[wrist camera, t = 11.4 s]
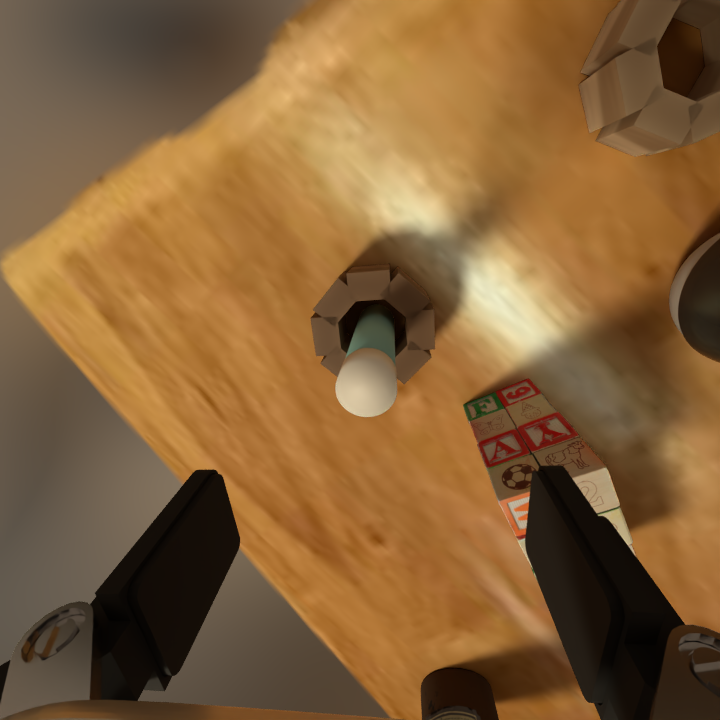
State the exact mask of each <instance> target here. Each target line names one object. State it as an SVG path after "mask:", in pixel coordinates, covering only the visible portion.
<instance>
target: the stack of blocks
mask: <svg viewBox="0 0 720 720" xmlns="http://www.w3.org/2000/svg"><path fill="white" fill-rule="evenodd" d="M463 407H464V410H465V413H466V416H467V419H468V422H469V424H470V426H471V428H472V430H473V433H474V435H475V437H476V440H477V442H478V444H477V446H478V449H479V451H480V454H481V456H482V459H483V462H484V464H485V467H486V469H487V472H488V474H489V477H490V480H491V483H492V486H493V489H494V492H495V494H496V497H497V500H498V502H499V504H500V506H501V508H502V510H503V512H504V514H505V516H506V518H507V520H508V522H509V524H510V526H511V528H512V530H513V532H514V534H515V537H516V539H517V541H518V543H519V545H520V547H521V549H522V550H523V552H524V554H525V556H526V558H527V560H528V561H529V558H528V555H527V552H526V547H525V536H526V526H527V517H528V507H529V497H530V488H531V478H532V472H533V471H538V468H539V467H540V466H549V465H562V466H563V467H564V468H565V469H566V470H567V472H568V473H569V474H570V476H571V477H572V479H573V480H574V482H575V483H576V485H577V486H578V487H579V489H580V490H581V492H582V493H583V495H584V496H585V497H586V499H587V500H588V502H589V503H590V505H591V506H592V508H593V509H594V510H595V512H596V513H597V515H598V516H604V517H606V518H607V519H608V520H609V521H610V522H611V523H612V524H613V526H614V527H615V528H616V530H617V531H618V533H619V534H620V535H621V537H622V538H623V539H624V541H625V542H626V544H627V545H628V546H629V548H630V549H631V551H632V552H633V553H634V555H635V556H636V553H635V551H634V548H633V546H632V543H633V540H632V537H631V534H630V532H629V529H628V526H627V524H626V521H625V518H624V515H623V513H622V510H621V508H620V507H619V506H620V502H619V499H618V496H617V493H616V490H615V487H614V485H613V482H612V479H611V476H610V473H609V471H608V469H607V467H606V466H605V464H604V463H603V462H602V461H601V460H600V459H599V457H598V456H597V455H596V454H595V453H594V452H593V451H592V450H591V448H590V447H589V446H588V445H587V444H586V443H585V442H584V441H583V440H582V439H581V438H580V436H579V435H578V433H577V432H576V431H575V430H574V429H573V427H572V426H571V425H570V424H569V423H568V422H567V421H566V420H565V418H564V417H563V416H562V415H561V414H560V413H558V412H557V410H556V409H555V408H554V407H553V406H552V405H551V404H550V403H549V402H548V401H547V399H546V398H545V397H544V396H543V394H542V393H541V391H540V390H539V389H538V388H537V387H536V386H535V385H534V384H533V382H532V381H531V380H530V379H526V380H523V381H521V382H518V383H516V384H513V385H511V386H508V387H506V388H503V389H501V390H498V391H496V392H495V393H492V394H490V395H487V396H484V397H482V398H479V399H477V400H474V401H472V402H469V403H466V404H464V405H463ZM636 557H637V556H636ZM529 563H530V561H529ZM530 566H531V563H530ZM531 568H532V566H531ZM532 571H533V568H532ZM533 573H534V571H533ZM534 575H535V573H534ZM535 577H536V576H535ZM536 579H537V578H536Z"/></svg>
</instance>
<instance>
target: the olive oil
mask: <svg viewBox="0 0 720 720" xmlns="http://www.w3.org/2000/svg"><path fill="white" fill-rule="evenodd" d="M421 707H422V720H499V719H498V714H497V710H496V706H495V702H494V698H493V694H492V690H491V687H490V685H489V683H488V682H487V681H486V680H485V679H484V678H483V677H482V676H480V675H479V674H477V673H474V672H472V671H468V670H464V669H443V670H439V671H436V672H433V673H431V674H430V675H428V676H427V677H426V678H425V679H424V680H423V682H422V685H421Z"/></svg>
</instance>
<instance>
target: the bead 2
mask: <svg viewBox="0 0 720 720" xmlns="http://www.w3.org/2000/svg"><path fill="white" fill-rule="evenodd" d="M672 17H673V18H675V19H677V20H680V21H682V22H684V23H687V24H689V25H691V26H694V27H696V28H698V29H700V32H701V40H702V48H703V55H704V63H705V67H704V69H703V71H702V73H701V74H700V76H699V78H698V79H697V81H696V83H695V84H694V86H693V88H692V89H691V91H690V93H689V95H688V96H687V98H686V97H684V96H682V95H679V94H677V93H674V92H672V91H670V90H667V89H665V88H664V87H663V81H662V75H661V68H660V62H659V56H658V50H657V45H658V43H659V41H660V39H661V38H662V36H663V34H664V32H665V30H666V28H667V26H668V25H669V23H670V21H671V19H672ZM581 73H583V74H586V75H588V76H590V77H589V78H587V79H586V80H585V81H583V82H582V83H581V84H579V89H580V94H581V98H582V102H583V107H584V111H585V116H586V120H587V124H588V129H589V133H591V132H593V131H595V130H598V129H600V128H602V127H603V128H602V130H601V131H600V133H599V135H598V137H597V139H596V141H598V142H600V143H602V144H605V145H607V146H610V147H612V148H615V149H617V150H620V151H622V152H625V153H627V154H630V155H632V156H635V157H637V156H640V155H644V154H646V156H648V155H652V154H656V153H660V152H663V151H667V150H671V149H675V148H679V147H682V146H686V145H690V144H694V143H696V142H698V141H700V140H702V139H704V138H706V137H709V136H711V135H713V134H715V133H717V132H719V131H720V0H621V1H620V2H619V3H618V5H617V6H616V7H615V8H614V9H613V10H612V11H611V12H610V13H609V14H608V16H607V18H606V20H605V22H604V24H603V26H602V28H601V30H600V32H599V34H598V36H597V39H596V41H595V43H594V45H593V47H592V49H591V51H590V53H589V55H588V57H587V59H586V61H585V64H584V66H583V68H582V70H581Z"/></svg>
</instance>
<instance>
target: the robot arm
mask: <svg viewBox="0 0 720 720" xmlns="http://www.w3.org/2000/svg"><path fill="white" fill-rule="evenodd" d="M239 546H240V536H239V533H238V529H237V526H236V522H235V518H234V515H233V511H232V508H231V504H230V501H229V497H228V494H227V490H226V486H225V483H224V479H223V477H222V475H220V474H218V472H217V471H216V470H196V471H195V472H194V473H193V474H192V475H191V476H190V477H189V479H188V480H187V481H186V482H185V483H184V485H183V486H182V487H181V488H180V490H179V491H178V492H177V494H175V496H174V497H173V498H172V500H171V501H170V502H169V503H168V504H167V505H166V507H165V508H164V509H163V510H162V512H161V513H160V514H159V515H158V516H157V518H156V519H155V520H154V521H153V523H152V524H151V525H150V526H149V528H148V529H147V530H146V531H145V533H144V534H143V535H142V536H141V537H140V539H139V540H138V541H137V542H136V543H135V545H134V546H133V547H132V548H131V550H130V551H129V552H128V553H127V555H126V556H125V557H124V558H123V559H122V561H121V562H120V563H119V564H118V566H117V567H116V568H115V569H114V570H113V572H112V573H111V574H110V575H109V577H108V578H107V579H106V580H105V581H104V583H103V584H102V585H101V586H100V588H99V589H98V590H97V591H96V593H95V594H96V598H95V599H94V600H93V601H92V603H91V604H88V603H87V602H80V601H78V602H73V603H69V604H66V605H64V606H61V607H59V608H57V609H55V610H53V611H52V612H50V613H48V614H47V615H45V616H44V617H43V618H42V619H40V620H39V621H38V622H36V623H35V624H34V625H33V626H32V627H31V628H30V629H29V630H28V631H27V632H26V633H25V634H24V635H23V637H22V638H21V640H20V641H19V642H18V644H17V645H16V647H15V650H14V652H13V654H12V657H11V660H9V661H8V662H6V663H4V664H3V665H1V666H0V720H404V719H391V718H378V717H365V716H352V715H338V714H325V713H311V712H297V711H284V710H269V709H257V708H241V707H227V706H213V705H198V704H184V703H169V702H148V701H138V698H139V697H140V695H141V693H142V691H143V689H144V690H154V691H165V690H166V688H167V686H168V684H169V681H170V680H171V677H172V676H174V675H176V674H177V673H178V672H179V671H180V669H181V667H182V665H183V663H184V661H185V659H186V657H187V655H188V653H189V651H190V649H191V647H192V645H193V643H194V641H195V638H196V636H197V634H198V632H199V630H200V628H201V626H202V624H203V622H204V620H205V618H206V616H207V614H208V611H209V610H210V607H211V605H212V603H213V601H214V599H215V597H216V595H217V593H218V591H219V589H220V587H221V585H222V583H223V581H224V579H225V576H226V574H227V572H228V570H229V568H230V566H231V564H232V562H233V560H234V558H235V556H236V554H237V551H238V549H239ZM525 547H526V552H527V555H528V558H529V561H530V563H531V566H532V568H533V571H534V573H535V576H536V578H537V581H538V583H539V586H540V588H541V591H542V593H543V596H544V598H545V601H546V603H547V606H548V608H549V611H550V613H551V616H552V618H553V621H554V623H555V626H556V629H557V631H558V634H559V636H560V639H561V641H562V644H563V646H564V649H565V651H566V654H567V656H568V659H569V661H570V664H571V666H572V669H573V671H574V674H575V676H576V679H577V681H578V684H579V686H580V689H581V691H582V694H583V696H584V698H585V699H586V701H587V702H589V703H594V704H595V706H596V709H597V711H598V714H599V716H600V719H601V720H720V633H718V632H715V631H713V630H711V629H708V628H705V627H701V626H696V625H685V624H684V622H683V621H682V620H681V618H680V617H679V616H678V614H677V613H676V611H675V610H674V609H673V607H672V606H671V604H670V603H669V602H668V600H667V599H666V598H665V596H664V595H663V593H662V592H661V591H660V589H659V588H658V586H657V585H656V584H655V582H654V581H653V580H652V578H651V577H650V575H649V574H648V573H647V571H646V570H645V569H644V567H643V566H642V564H641V563H640V562H639V560H638V559H637V557H636V556H635V555H634V553H633V552H632V551H631V549H630V548H629V546H628V545H627V544H626V542H625V541H624V539H623V538H622V537H621V535H620V534H619V533H618V531H617V530H616V528H615V527H614V526H613V524H612V523H611V522H610V521H609V520H608V519H607V518H606V517H604V516H598V515H597V513H596V512H595V510H594V509H593V508H592V506H591V505H590V503H589V502H588V500H587V499H586V497H585V496H584V495H583V493H582V492H581V490H580V489H579V487H578V486H577V485H576V483H575V482H574V480H573V479H572V477H571V476H570V474H569V473H568V472H567V470H566V469H565V468H564V467H563V466H562V465H549V466H540V467H539V468H538V471H533V472H532V478H531V488H530V497H529V507H528V517H527V526H526V536H525Z"/></svg>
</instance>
